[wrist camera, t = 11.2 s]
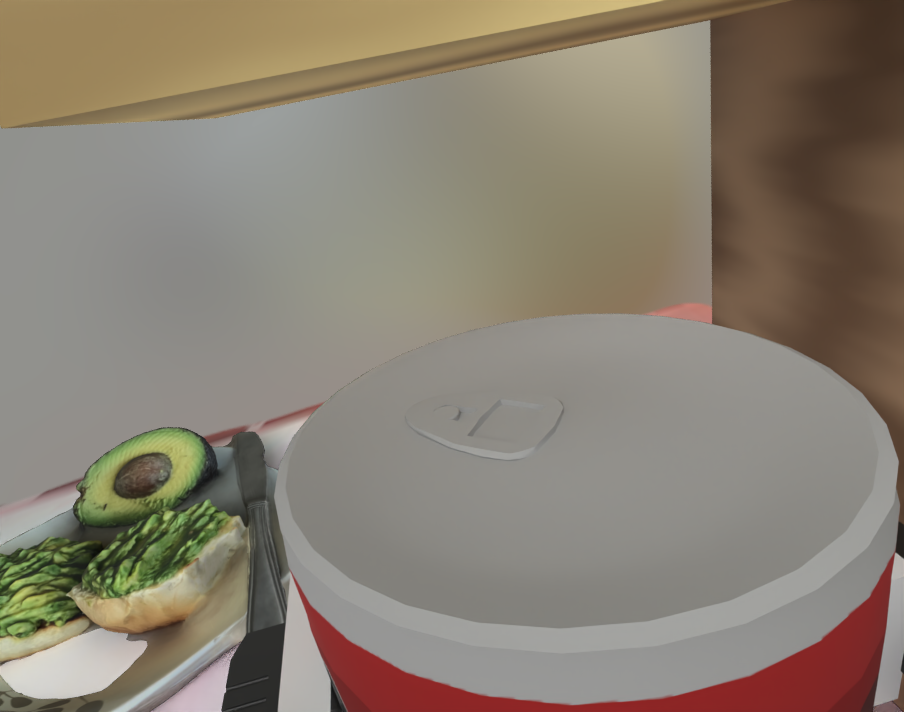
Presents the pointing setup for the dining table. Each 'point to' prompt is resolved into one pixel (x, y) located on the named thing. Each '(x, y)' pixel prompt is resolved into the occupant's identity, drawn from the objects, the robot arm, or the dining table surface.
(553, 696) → the canned food
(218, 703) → the dining table surface
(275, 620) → the salad plate
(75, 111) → the wooden l-shaped stand
